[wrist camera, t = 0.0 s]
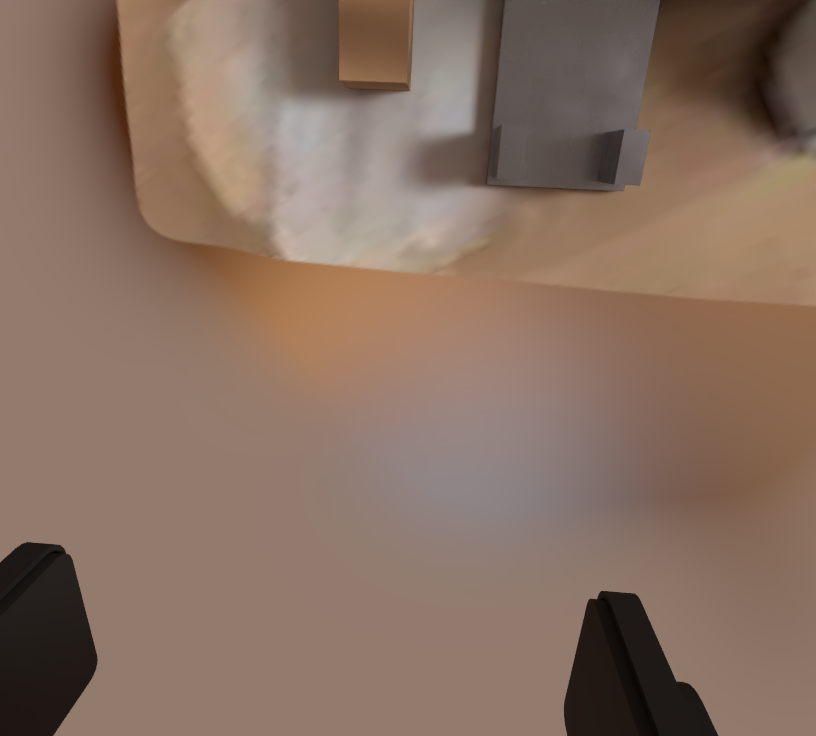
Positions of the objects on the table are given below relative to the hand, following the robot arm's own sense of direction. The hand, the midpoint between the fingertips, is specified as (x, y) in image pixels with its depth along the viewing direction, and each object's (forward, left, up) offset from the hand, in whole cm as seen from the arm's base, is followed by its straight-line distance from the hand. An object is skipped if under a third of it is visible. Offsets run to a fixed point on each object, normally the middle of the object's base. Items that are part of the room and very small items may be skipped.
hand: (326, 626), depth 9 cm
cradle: (-15, +9, -31) cm, 36 cm away
